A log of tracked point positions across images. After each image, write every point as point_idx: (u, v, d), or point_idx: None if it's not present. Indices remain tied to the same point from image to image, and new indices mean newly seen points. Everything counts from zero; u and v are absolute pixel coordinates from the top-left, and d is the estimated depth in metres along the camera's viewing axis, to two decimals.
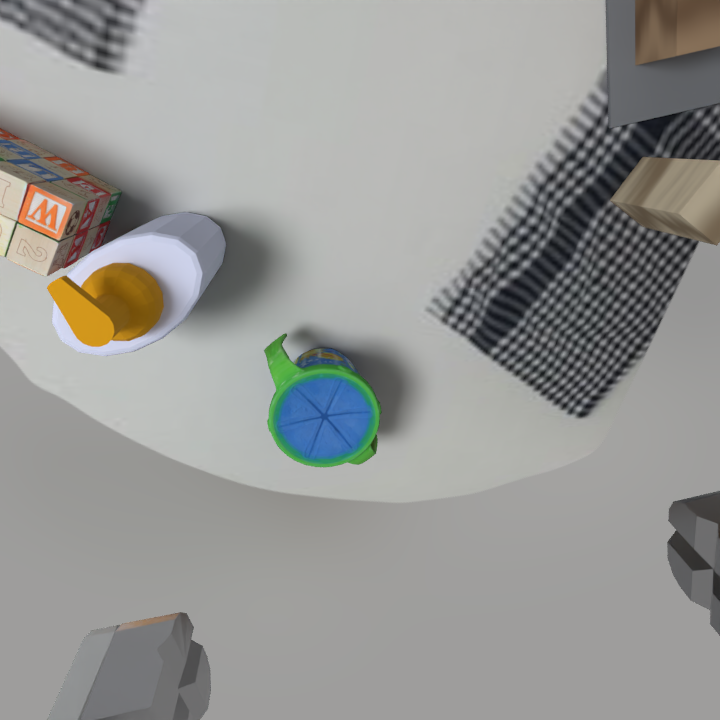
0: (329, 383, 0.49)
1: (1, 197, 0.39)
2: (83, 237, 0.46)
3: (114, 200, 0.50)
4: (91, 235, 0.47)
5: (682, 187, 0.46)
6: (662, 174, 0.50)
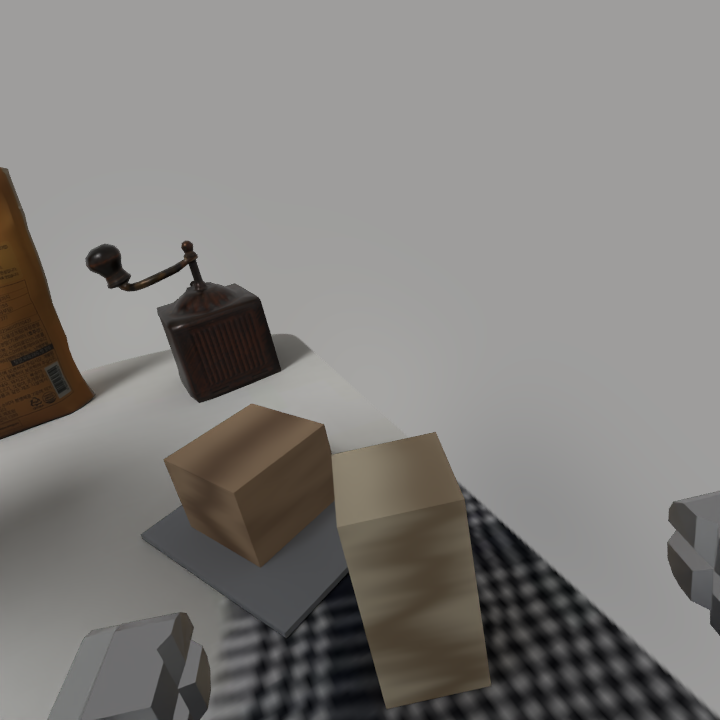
0: None
1: None
2: None
3: None
4: None
5: None
6: None
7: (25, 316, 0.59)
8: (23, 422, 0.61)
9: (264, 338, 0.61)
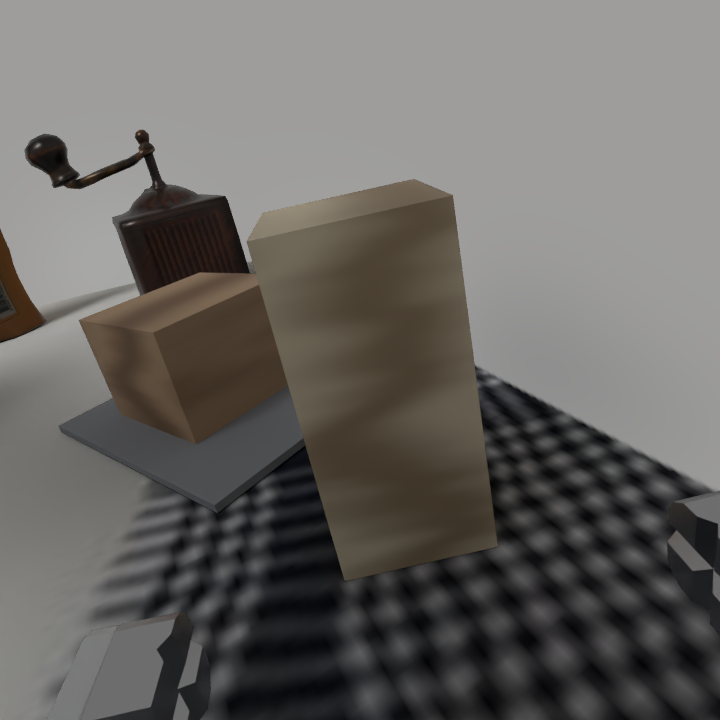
0: None
1: None
2: None
3: None
4: None
5: None
6: None
7: None
8: None
9: (232, 245, 0.53)
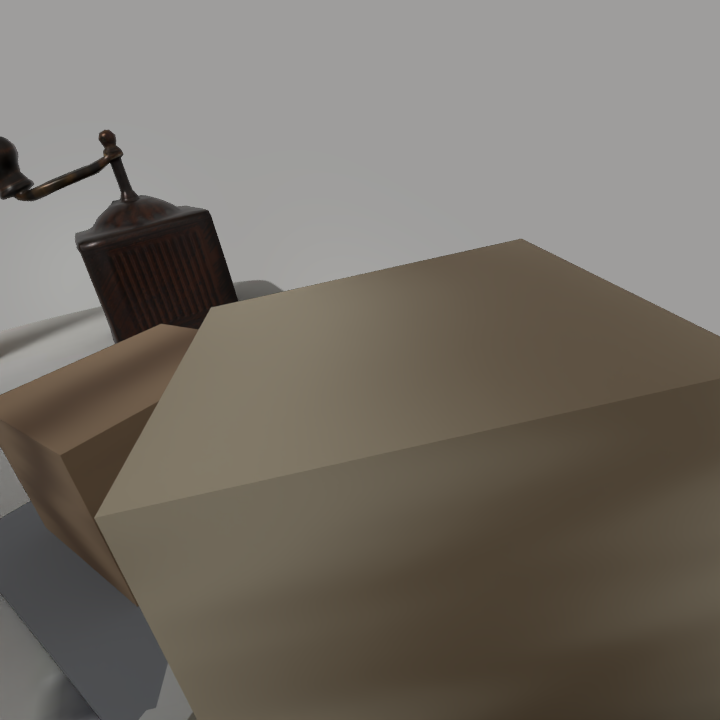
0: None
1: None
2: None
3: None
4: None
5: None
6: None
7: None
8: None
9: (217, 268, 0.44)
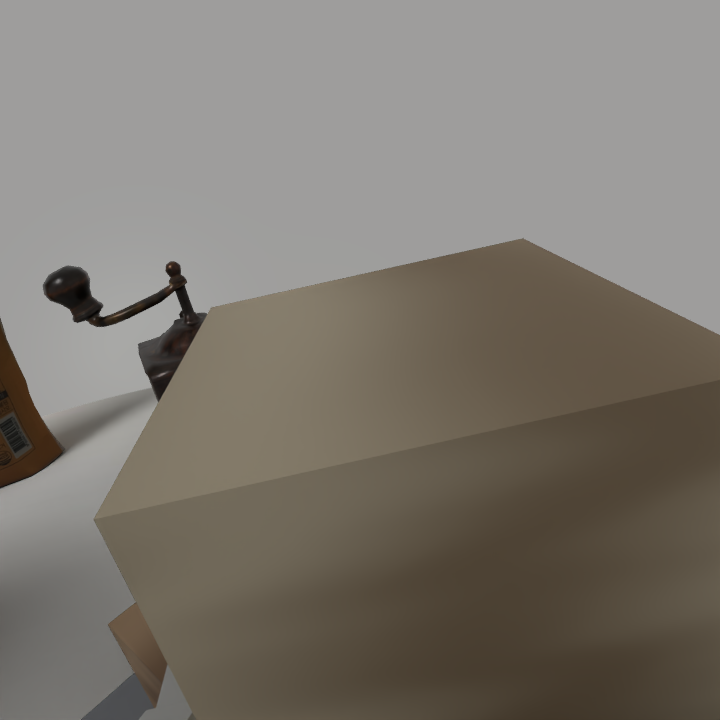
0: None
1: None
2: None
3: None
4: None
5: None
6: None
7: None
8: None
9: None
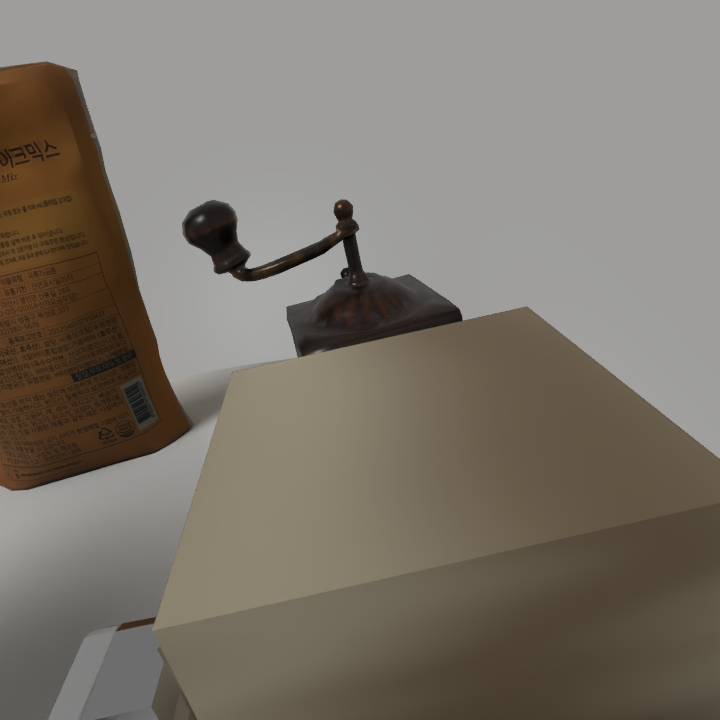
0: None
1: None
2: None
3: None
4: None
5: None
6: None
7: (96, 307, 0.39)
8: (89, 460, 0.42)
9: None
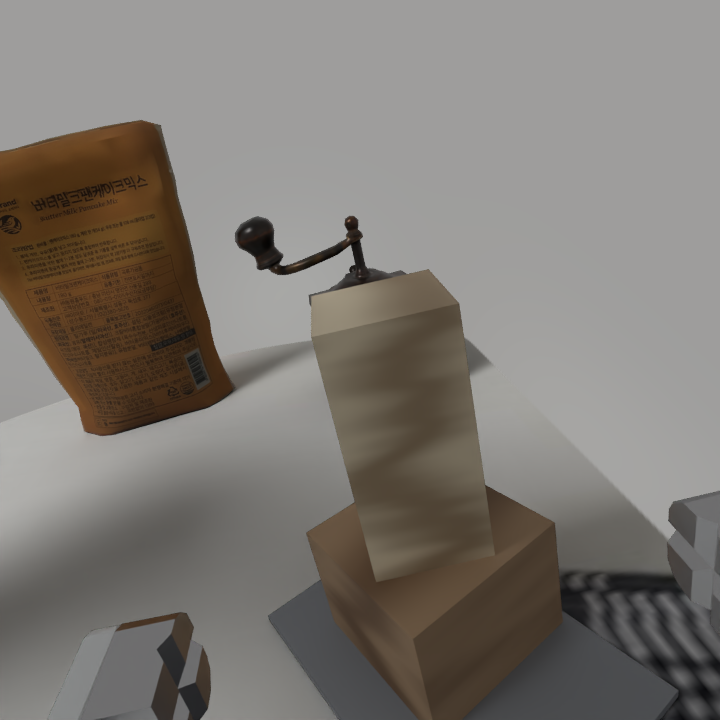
0: None
1: None
2: None
3: None
4: None
5: None
6: None
7: (168, 295, 0.52)
8: (159, 412, 0.55)
9: None
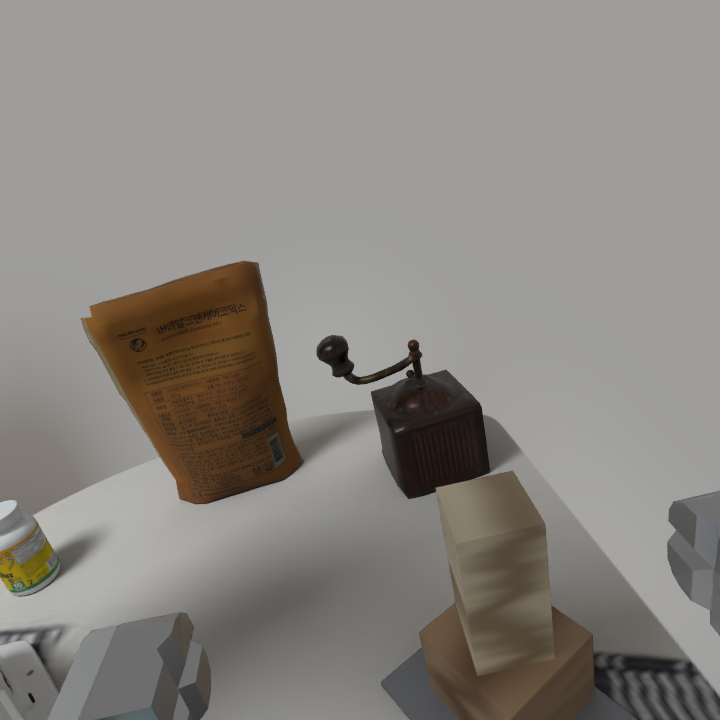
0: None
1: None
2: None
3: None
4: None
5: (450, 541, 0.32)
6: (453, 576, 0.35)
7: (257, 393, 0.64)
8: (245, 485, 0.67)
9: (479, 441, 0.59)
